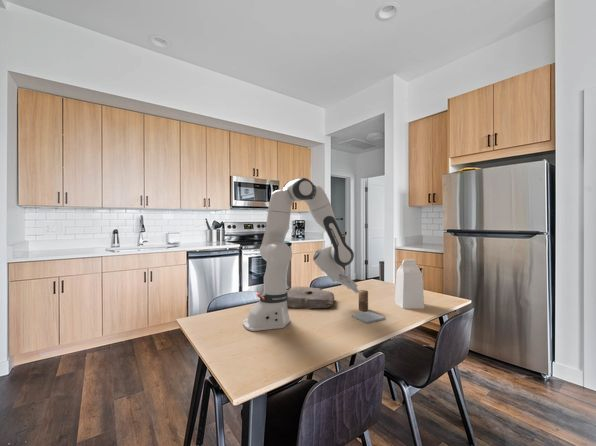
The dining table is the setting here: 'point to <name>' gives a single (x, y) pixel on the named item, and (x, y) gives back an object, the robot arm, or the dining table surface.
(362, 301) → the roller
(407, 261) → the milk
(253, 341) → the dining table surface
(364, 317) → the mat
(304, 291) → the stone slab
